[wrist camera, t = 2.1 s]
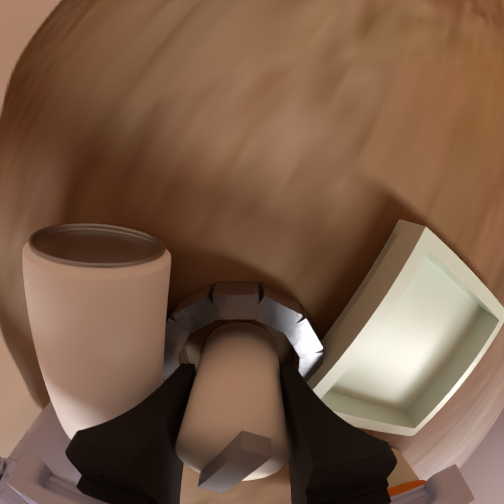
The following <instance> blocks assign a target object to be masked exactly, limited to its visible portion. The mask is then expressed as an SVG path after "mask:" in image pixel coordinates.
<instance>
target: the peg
mask: <svg viewBox="0 0 504 504" xmlns="http://www.w3.org/2000/svg"><path fill="white" fill-rule="evenodd" d="M175 450H176V453H177V455H178V457H179V458H180V460H181V461H182V462H183V463H184V464H186V465H187V466H188V467H190V468H191V469H193V470H195V471H197V472H199V473H200V477H199V483H198V487H200V488H203V489H207V490H211V491H214V492H218V493H222V494H223V493H224V492H226V491H227V490H229V489H230V488H232V487H233V486H234V485H236V484H237V483H239V482H240V481H245V480H254V479H259V478H263V477H267V476H269V475H272V474H274V473H276V472H278V471H279V470H281V469H282V468H283V467H284V466H285V465H286V464H287V462H288V460H289V445H288V436H287V427H286V419H285V410H284V402H283V394H282V385H281V377H280V369H279V361H278V353H277V347H276V343H275V341H274V339H273V338H272V336H271V335H270V334H269V333H268V332H267V331H265V330H264V329H263V328H261V327H259V326H257V325H254V324H251V323H246V322H232V323H228V324H224V325H222V326H220V327H218V328H216V329H215V330H214V331H213V332H212V333H211V334H210V335H209V336H208V338H207V340H206V342H205V346H204V349H203V352H202V356H201V359H200V362H199V366H198V369H197V372H196V376H195V379H194V382H193V386H192V389H191V393H190V396H189V399H188V403H187V406H186V410H185V413H184V417H183V420H182V424H181V427H180V431H179V434H178V438H177V441H176V445H175Z"/></svg>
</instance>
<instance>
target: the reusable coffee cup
mask: <svg viewBox="0 0 504 504" xmlns="http://www.w3.org/2000/svg"><path fill="white" fill-rule="evenodd" d="M391 449H392V450H393V452H394V454H395V456H396V458H397V465H396V467H395V468H394V470H393V471H392V473H391V474H390V475H389V477H388V478H387V481H388V484H389V487H388V488H387V490H388V493H389V496H390V497H392V496H395V495H398V494H401V493H403V492H406V491H409V490H411V489H414V488H416V487H419V486H421V485H424V484H425V483H426V481H424V480H419V478H418V477H417V476H416V474H415V473H414V471H413V470H412V468H411V467H410V465H409V464H408V463H407V461H406V460H405V458H404V457H403V455H402V454H401V452H400V451H399V450H397V449H394V448H391Z"/></svg>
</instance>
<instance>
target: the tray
mask: <svg viewBox="0 0 504 504" xmlns="http://www.w3.org/2000/svg"><path fill="white" fill-rule="evenodd" d="M503 323H504V308H503V307H502V305H501V304H500V303H499V302H498V300H497V299H496V298H495V297H494V296H493V294H492V293H491V292H490V291H489V290H488V289H487V287H486V286H485V285H484V284H483V283H482V282H481V281H480V279H479V278H478V277H477V276H476V275H475V274H474V273H473V272H472V271H471V270H470V269H469V268H468V267H467V266H466V264H465V263H464V262H463V261H462V260H461V259H460V258H459V257H458V256H457V255H456V254H455V253H454V252H453V251H452V250H451V249H450V248H449V247H448V246H446V245H445V244H444V243H443V242H442V241H441V240H440V239H439V238H438V237H437V236H436V235H435V234H434V233H433V232H431V231H430V230H429V229H428V228H427V227H426V226H422V225H419V224H415V223H412V222H408V221H405V220H401V219H399V220H398V222H397V224H396V226H395V228H394V230H393V231H392V233H391V235H390V237H389V238H388V240H387V242H386V244H385V245H384V247H383V249H382V251H381V252H380V254H379V256H378V257H377V259H376V261H375V262H374V264H373V266H372V267H371V269H370V270H369V272H368V274H367V275H366V277H365V278H364V280H363V281H362V283H361V285H360V286H359V288H358V289H357V291H356V292H355V294H354V295H353V297H352V298H351V300H350V301H349V303H348V304H347V306H346V307H345V308H344V310H343V311H342V313H341V314H340V316H339V317H338V318H337V320H336V321H335V323H334V324H333V325H332V327H331V328H330V330H329V331H328V332H327V334H326V335H325V336H324V338H323V339H322V340H321V344H322V346H323V348H324V349H323V350H324V357H323V364H322V365H321V366H320V367H319V369H318V370H317V371H316V372H315V373H314V375H313V376H312V377H311V378H310V379H309V380H308V382H307V384H308V385H309V386H310V388H311V389H312V390H313V391H314V392H315V394H316V395H317V396H318V397H319V398H320V399H321V400H322V401H323V402H324V403H325V404H326V405H327V406H328V407H329V408H330V409H331V410H332V411H333V412H334V413H336V414H337V415H338V416H339V417H341V418H342V419H343V420H345V421H346V422H348V423H349V424H351V425H352V426H354V427H358V428H363V429H368V430H374V431H379V432H385V433H392V434H399V435H406V436H413V435H415V434H416V433H417V432H418V431H419V430H420V429H421V428H422V427H423V426H424V425H425V424H426V423H427V422H428V421H429V420H430V419H431V418H432V417H433V416H434V415H435V414H436V413H437V412H438V411H439V410H440V409H441V408H442V406H443V405H444V404H445V403H446V402H447V401H448V400H449V399H450V397H451V396H452V395H453V394H454V393H455V392H456V390H457V389H458V388H459V387H460V386H461V384H462V383H463V382H464V381H465V379H466V378H467V377H468V375H469V374H470V373H471V372H472V370H473V369H474V368H475V366H476V365H477V363H478V362H479V361H480V359H481V358H482V356H483V355H484V353H485V352H486V350H487V349H488V347H489V346H490V344H491V343H492V341H493V340H494V338H495V336H496V335H497V333H498V331H499V330H500V328H501V326H502V325H503Z"/></svg>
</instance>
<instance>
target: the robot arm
mask: <svg viewBox="0 0 504 504" xmlns="http://www.w3.org/2000/svg"><path fill="white" fill-rule="evenodd" d="M195 376H196V372H195V366H194V364H184V363H182V364H181V365H180V366H179V367H178V368H177V369H176V370H175V371H174V372H173V373H172V374H171V375H170V376H169V377H168V378H167V379H166V380H165V381H164V382H163V383H162V384H161V385H160V386H159V387H158V388H157V389H156V390H155V391H154V392H153V393H152V394H150V395H149V396H148V397H147V398H146V399H144V400H143V401H142V402H141V403H139V404H138V405H136V406H135V407H133V408H132V409H130V410H128V411H127V412H125V413H123V414H121V415H119V416H117V417H116V418H113V419H111V420H109V421H107V422H104V423H102V424H99V425H96V426H93V427H89V428H86V429H82V430H78V431H77V432H76V434H75V435H74V437H73V438H72V440H71V439H70V438H69V437H68V436H67V434H66V433H65V431H64V429H63V427H62V425H61V423H60V421H59V419H58V417H57V414H56V412H55V409H54V407H53V404H52V402H51V399H50V402H49V403H48V404H47V406H46V407H45V408H44V409H43V411H42V412H41V413H40V415H39V416H38V417H37V419H36V420H35V421H34V423H33V424H32V425H31V427H30V428H29V429H28V431H27V432H26V433H25V435H24V436H23V437H22V439H21V440H20V441H19V443H18V444H17V446H16V447H15V448H14V450H13V451H12V453H11V454H10V456H9V457H8V458H1V457H0V504H180V490H181V480H182V472H183V464H184V463H183V462H182V461H181V460H180V458H179V457H178V455H177V453H176V450H175V445H176V441H177V438H178V434H179V431H180V427H181V424H182V420H183V417H184V413H185V410H186V406H187V403H188V399H189V396H190V393H191V389H192V386H193V382H194V379H195ZM280 377H281V385H282V394H283V402H284V410H285V419H286V427H287V436H288V445H289V467H290V482H291V501H292V504H471V503H472V502H474V500H475V499H474V496H473V495H472V493H471V491H470V489H469V487H468V485H467V483H466V482H465V480H464V478H463V476H462V475H461V473H460V471H459V469H458V467H457V466H456V465H452V466H450V467H448V468H446V469H444V470H442V471H440V472H438V473H436V474H434V475H433V476H431V477H430V478H429V479H428V480H427V481H426V483H425V484H424V485H421V486H419V487H416V488H414V489H411V490H409V491H406V492H403V493H401V494H398V495H395V496H392V497H390V496H389V493H388V490H387V488H388V487H389V484H388V481H387V478H388V477H389V475H390V474H391V473H392V471H393V470H394V468H395V467H396V465H397V458H396V456H395V454H394V452H393V450H392V449H391V447H390V446H389V444H388V443H387V442H385V441H383V440H380V439H378V438H375V437H373V436H371V435H368V434H366V433H364V432H363V431H361V430H359V429H357V428H355V427H354V426H352V425H351V424H349V423H348V422H346V421H345V420H343V419H342V418H341V417H339V416H338V415H337V414H336V413H334V412H333V411H332V410H331V409H330V408H329V407H328V406H327V405H326V404H325V403H324V402H323V401H322V400H321V399H320V398H319V397H318V396H317V395H316V394H315V392H314V391H313V390H312V389H311V388H310V386H309V385H308V384H307V382H306V381H305V380H304V378H303V377H302V375H301V374H300V372H299V371H298V369H297V367H296V366H295V365H294V364H291V365H281V372H280Z"/></svg>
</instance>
